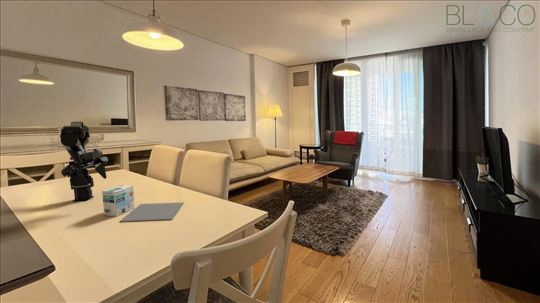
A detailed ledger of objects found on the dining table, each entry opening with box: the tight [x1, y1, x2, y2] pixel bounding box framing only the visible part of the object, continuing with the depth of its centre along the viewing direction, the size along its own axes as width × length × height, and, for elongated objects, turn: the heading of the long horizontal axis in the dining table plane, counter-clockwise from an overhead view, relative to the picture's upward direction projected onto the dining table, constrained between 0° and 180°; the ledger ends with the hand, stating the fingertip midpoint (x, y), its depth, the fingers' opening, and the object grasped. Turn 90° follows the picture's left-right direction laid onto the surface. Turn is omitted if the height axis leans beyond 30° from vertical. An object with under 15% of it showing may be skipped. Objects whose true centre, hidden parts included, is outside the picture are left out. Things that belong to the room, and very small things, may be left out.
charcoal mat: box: [119, 201, 185, 223], centre depth 109 cm, size 20×20×1 cm
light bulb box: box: [101, 184, 136, 217], centre depth 109 cm, size 11×7×11 cm, turn 168°
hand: (97, 181), depth 111 cm, fingers open, 9 cm apart
